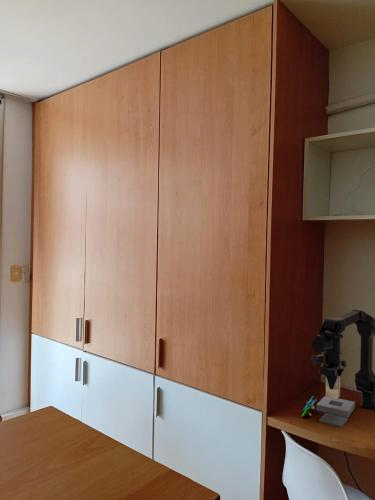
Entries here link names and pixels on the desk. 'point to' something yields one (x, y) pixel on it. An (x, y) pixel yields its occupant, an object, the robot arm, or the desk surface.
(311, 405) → the stick construction toy
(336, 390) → the cream block
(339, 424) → the dark gray panel
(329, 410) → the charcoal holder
